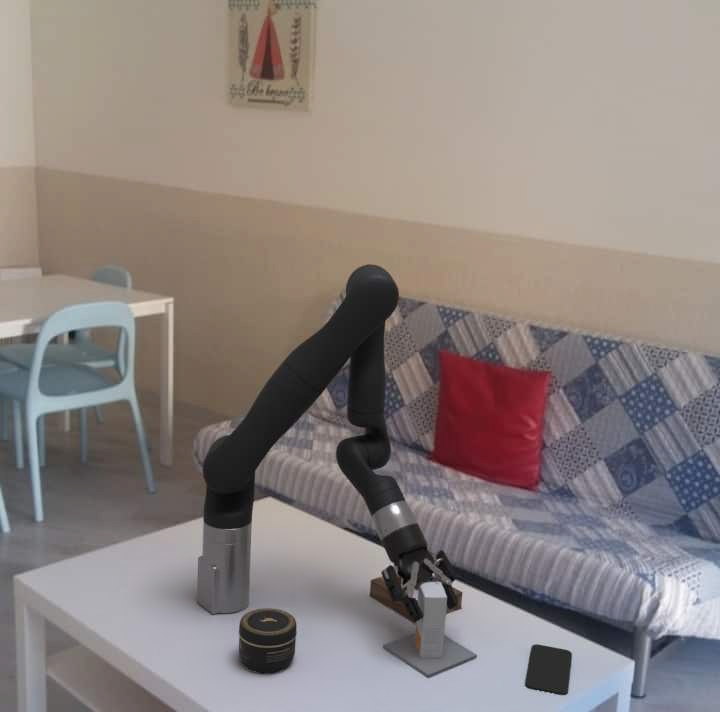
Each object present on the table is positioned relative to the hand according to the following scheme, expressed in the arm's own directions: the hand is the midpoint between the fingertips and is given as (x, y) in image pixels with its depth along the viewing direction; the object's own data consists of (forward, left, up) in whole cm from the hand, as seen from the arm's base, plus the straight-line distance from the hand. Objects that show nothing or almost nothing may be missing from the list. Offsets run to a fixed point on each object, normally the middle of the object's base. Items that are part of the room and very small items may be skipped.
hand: (436, 613), depth 172 cm
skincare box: (0, +1, -8) cm, 8 cm away
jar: (-26, +15, -9) cm, 31 cm away
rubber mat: (0, +1, -8) cm, 8 cm away
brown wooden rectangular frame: (+11, +17, -8) cm, 22 cm away
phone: (+14, -15, -9) cm, 22 cm away
